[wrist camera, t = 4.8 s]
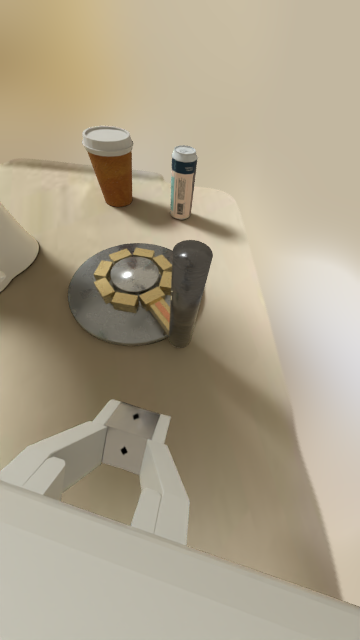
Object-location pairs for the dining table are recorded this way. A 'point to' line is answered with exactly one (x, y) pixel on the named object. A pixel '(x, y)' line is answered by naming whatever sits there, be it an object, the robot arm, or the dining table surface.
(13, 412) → the dining table surface
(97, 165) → the disposable coffee cup
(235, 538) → the dining table surface
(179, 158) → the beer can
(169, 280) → the tan handled ring
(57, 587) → the robot arm
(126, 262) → the flange
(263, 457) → the dining table surface
